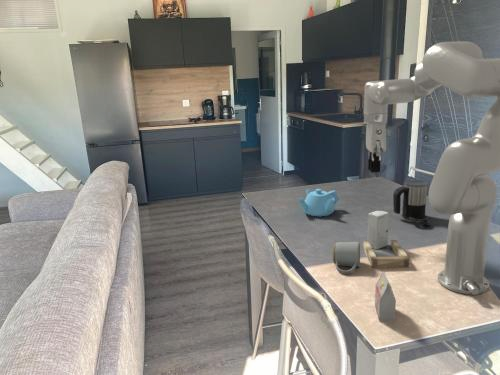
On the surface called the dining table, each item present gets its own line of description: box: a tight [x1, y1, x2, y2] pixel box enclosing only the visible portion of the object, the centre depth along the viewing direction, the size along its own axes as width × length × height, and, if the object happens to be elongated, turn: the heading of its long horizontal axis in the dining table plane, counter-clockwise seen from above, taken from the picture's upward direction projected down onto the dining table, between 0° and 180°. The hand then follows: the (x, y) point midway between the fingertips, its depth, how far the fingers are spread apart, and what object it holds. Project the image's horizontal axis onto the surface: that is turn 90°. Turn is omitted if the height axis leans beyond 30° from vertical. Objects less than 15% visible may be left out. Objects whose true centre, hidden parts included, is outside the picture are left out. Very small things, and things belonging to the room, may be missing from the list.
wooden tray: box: [362, 239, 410, 269], centre depth 125 cm, size 14×11×3 cm
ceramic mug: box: [332, 241, 361, 275], centre depth 120 cm, size 11×8×8 cm
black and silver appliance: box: [392, 179, 432, 227], centre depth 153 cm, size 14×16×15 cm
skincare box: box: [367, 209, 390, 250], centre depth 133 cm, size 6×4×12 cm
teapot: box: [297, 188, 339, 218], centre depth 169 cm, size 15×15×11 cm
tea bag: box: [374, 270, 397, 323], centre depth 95 cm, size 4×7×10 cm, turn 171°
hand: (374, 170), depth 135 cm, fingers open, 2 cm apart
